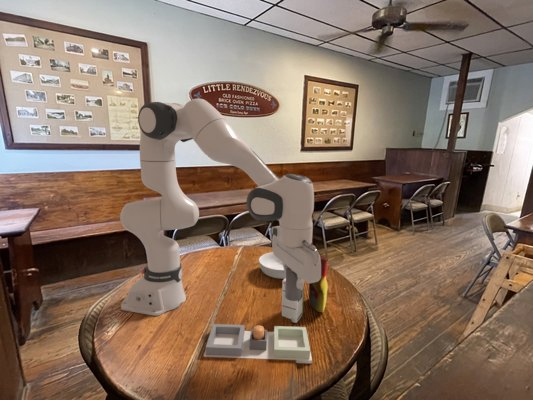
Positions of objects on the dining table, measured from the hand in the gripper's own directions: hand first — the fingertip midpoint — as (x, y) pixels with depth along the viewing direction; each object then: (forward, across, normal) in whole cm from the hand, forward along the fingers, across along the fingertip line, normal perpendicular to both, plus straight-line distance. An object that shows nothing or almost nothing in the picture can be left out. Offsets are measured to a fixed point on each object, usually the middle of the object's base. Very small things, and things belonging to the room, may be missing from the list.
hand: (293, 282), depth 75 cm
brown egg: (+19, +4, +9) cm, 21 cm away
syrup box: (+21, +13, -8) cm, 26 cm away
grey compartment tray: (+21, +4, +8) cm, 23 cm away
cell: (+4, 0, 0) cm, 4 cm away
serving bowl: (+21, +43, -19) cm, 52 cm away
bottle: (+21, +15, -20) cm, 33 cm away
